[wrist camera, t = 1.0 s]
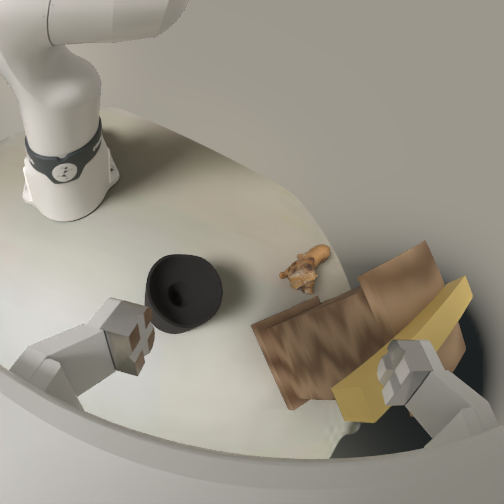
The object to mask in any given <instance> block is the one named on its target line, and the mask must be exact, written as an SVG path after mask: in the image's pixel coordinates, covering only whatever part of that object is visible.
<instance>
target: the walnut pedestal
mask: <svg viewBox="0 0 504 504" xmlns="http://www.w3.org/2000/svg"><path fill="white" fill-rule="evenodd" d="M357 278H358V280H359V282H360V284H361V286H360V287H358V288H355V289H353V290H351V291H348V292H346V293H344V294H342V295H339V296H337V297H335V298H333V299H330V300H328V301H326V302H323V303H320V301H319V298H318V296H316V297H314V298H312V299H310V300H307V301H305V302H303V303H301V304H299V305H296V306H294V307H292V308H290V309H288V310H285V311H283V312H281V313H279V314H276V315H274V316H272V317H269V318H267V319H265V320H262V321H260V322H258V323H255V324H253V325H251V326H252V329H253V331H254V333H255V336H256V338H257V340H258V343H259V345H260V347H261V349H262V352H263V354H264V356H265V358H266V361H267V363H268V365H269V367H270V370H271V372H272V374H273V376H274V379H275V381H276V383H277V385H278V387H279V390H280V392H281V394H282V396H283V398H284V401H285V403H286V405H287V407H288V409H289V410H295V409H296V408H298V407H300V406H301V405H303V404H304V403H306V402H307V401H309V400H310V399H317V400H336V399H335V397H334V394H333V392H332V390H331V388H332V387H333V386H335V385H336V384H338V383H339V382H340V381H342V380H343V379H344V378H346V377H347V376H348V375H350V374H351V373H352V372H353V371H355V370H356V369H357V368H358V367H360V366H361V365H362V364H363V363H365V362H366V361H367V360H368V359H370V358H371V357H372V356H373V355H374V354H376V353H377V352H378V351H379V350H380V349H381V348H383V347H384V346H385V345H386V344H387V343H388V342H389V341H390V340H392V339H393V338H394V337H395V336H396V335H397V334H398V333H399V332H400V331H401V330H403V329H404V328H405V327H406V326H407V325H408V324H409V323H410V322H411V321H412V320H413V319H414V318H415V317H416V316H417V315H418V314H419V313H420V312H421V311H422V310H423V309H424V308H425V307H426V306H427V305H428V304H429V303H430V302H431V301H432V300H433V299H434V298H435V297H436V295H437V294H438V293H439V292H440V291H441V290H442V289H443V288H444V287H445V285H444V282H443V280H442V277H441V275H440V272H439V270H438V268H437V265H436V263H435V261H434V258H433V256H432V254H431V252H430V249H429V247H428V245H427V243H426V241H423V242H422V243H420V244H418V245H416V246H415V247H413V248H411V249H409V250H407V251H406V252H404V253H402V254H400V255H398V256H397V257H395V258H393V259H391V260H389V261H387V262H385V263H383V264H382V265H380V266H378V267H376V268H374V269H372V270H370V271H368V272H366V273H365V274H362V275H360V276H358V277H357ZM465 350H466V347H465V343H464V340H463V336H462V333H461V330H460V327H459V324H458V322H457V323H456V325H455V327H454V328H453V330H452V331H451V332H450V334H449V335H448V337H447V338H446V340H445V341H444V343H443V344H442V345H441V347H440V348H439V349H438V351H437V352H436V353H437V355H438V357H439V359H440V361H441V363H442V365H443V367H444V369H445V370H448V371H450V372H451V373H452V372H453V371H454V369H455V368H456V366H457V364H458V362H459V361H460V359H461V357H462V355H463V354H464V352H465ZM409 413H410V416H413V415H412V413H411V412H410V411H409Z"/></svg>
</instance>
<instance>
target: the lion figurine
mask: <svg viewBox="0 0 504 504" xmlns="http://www.w3.org/2000/svg"><path fill="white" fill-rule="evenodd" d="M330 254H331V252H330V247H328V246H326V245H323V244H322V245H317V246H315V247H313V248H312V249H310V250H309V251H308V252H306V253H304V254H299V255H297V258H298V259H299V260H298V261H295V262H294V263H293V264H292V265H291V266H290V267H288V268H287V269H286V271H285V272H281V273H280V274H279V276H280V278H281V279H284V278H286V277H287V276H288V279H289V280H290V285H291V287H293V288H294V289H299V288H301V289H302V291H303V293H306V294H313V285H314V283H315V282H314V280H315V279H316V278H317V277H318V275H317V274H316V273H315V268H316V267H317V266H318V264H319V263H321V262H324V261H325V260H326V259H327V258H328V257H329V256H330Z"/></svg>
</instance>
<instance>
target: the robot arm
mask: <svg viewBox="0 0 504 504" xmlns="http://www.w3.org/2000/svg"><path fill="white" fill-rule="evenodd" d="M188 1H189V0H0V75H1V76H2V77H3V78H4V80H5V81H6V82H7V84H8V85H9V86H10V88H11V90H12V91H13V93H14V95H15V97H16V99H17V102H18V105H19V108H20V112H21V116H22V120H23V124H24V129H25V133H26V136H25V146H26V147H25V148H26V154H27V157H26V158H25V160H24V163H25V166H24V168H23V171H24V176H25V180H26V182H25V186H24V191H23V199H24V201H25V202H26V203H28V204H31V205H34V206H35V207H37V208H38V210H39V211H40V212H41V213H42V214H43V215H45V216H46V217H48V218H50V219H52V220H56V221H73V220H77V219H79V218H82V217H84V216H86V215H88V214H89V213H91V212H92V211H93V210H94V209H96V208H97V207H98V205H99V204H100V203H101V202H102V200H103V199H104V197H105V195H106V193H107V191H108V189H109V188H110V187H112V186H113V185H114V184H115V183H116V182H117V181H118V180H119V171H118V169H117V167H116V165H115V163H114V161H113V158H112V156H111V154H110V149H109V148H108V147H107V145H106V143H105V140H104V138H103V136H102V123H101V118H100V116H99V110H100V96H101V79H100V76H99V74H98V72H97V70H96V69H95V67H94V66H93V65H92V64H91V63H90V62H88V61H87V60H85V59H83V58H81V57H79V56H77V55H75V54H73V53H72V52H70V51H69V50H68V49H67V48H66V46H65V44H81V43H116V42H122V41H131V40H139V39H146V38H155V37H157V36H159V35H160V34H162V33H163V32H165V31H166V30H167V29H168V28H170V27H171V26H172V25H173V24H174V23H175V22H176V21H177V20H178V18H179V17H180V16H181V14H182V13H183V11H184V10H185V8H186V6H187V4H188ZM110 171H112V172H110ZM152 318H153V315H152V309H151V308H150V307H147V306H143V305H139V304H135V303H131V302H128V301H123V300H119V299H115V298H109V299H107V301H106V302H105V303H104V304H103V305H102V307H101V308H100V309H99V310H98V312H97V313H96V314H95V315H94V316H93V318H92V319H91V320H90V321H89V323H88V324H87V325H85V324H82V325H79V326H77V327H75V328H72V329H70V330H67V331H65V332H62V333H60V334H58V335H55V336H53V337H50V338H48V339H45V340H43V341H40V342H38V343H36V344H33V345H31V346H28V348H27V349H26V350H25V351H24V352H23V354H22V355H21V356H20V357H19V358H18V360H17V361H16V362H15V363H14V365H13V366H12V367H11V369H10V370H8V369H6V368H5V367H3V366H2V365H0V504H504V425H502V426H499V425H498V422H497V420H496V418H495V416H494V414H493V412H492V409H491V407H490V405H489V403H488V401H486V400H485V399H484V398H483V397H481V396H480V395H479V394H478V393H476V392H475V391H474V390H472V389H471V388H470V387H469V386H467V385H466V384H465V383H463V382H462V381H461V380H460V379H459V378H457V377H456V376H455V375H454V374H452V373H451V372H450V371H448V370H445V369H444V367H443V365H442V363H441V361H440V359H439V357H438V355H437V353H436V351H435V350H434V348H433V346H432V344H431V342H430V341H429V340H399V339H393V340H392V341H391V342H390V343H389V345H388V347H387V350H388V353H386V354H385V355H384V356H382V358H381V360H380V362H379V364H378V369H377V376H378V380H379V382H380V383H381V384H382V385H383V386H384V387H383V389H382V394H383V398H384V402H385V405H386V406H390V405H405V406H406V407H407V409H408V410H409V411H410V412H411V413H412V415H413V416H414V417H415V418H416V419H417V420H418V421H419V423H420V424H421V425H422V426H423V427H424V429H425V430H426V431H427V432H428V433H429V435H430V436H431V437H432V438H433V439H432V440H431V441H430V442H429V443H428V444H427V445H425V447H424V448H423V449H418V450H413V451H408V452H402V453H396V454H388V455H380V456H370V457H359V458H343V459H289V458H273V457H261V456H251V455H243V454H235V453H229V452H222V451H216V450H211V449H205V448H200V447H195V446H191V445H186V444H182V443H178V442H174V441H170V440H166V439H162V438H159V437H155V436H152V435H148V434H145V433H142V432H139V431H136V430H133V429H130V428H127V427H124V426H121V425H118V424H115V423H113V422H110V421H107V420H105V419H102V418H100V417H97V416H95V415H92V414H90V413H88V412H85V411H84V409H83V406H82V405H81V403H80V401H79V400H78V398H77V397H78V396H79V395H81V394H82V393H84V392H85V391H87V390H88V389H90V388H91V387H93V386H94V385H96V384H97V383H99V382H100V381H102V380H103V379H105V378H106V377H108V376H109V375H111V374H112V373H114V372H115V370H117V371H120V372H124V373H128V374H131V375H135V376H138V375H139V373H140V371H141V369H142V367H143V365H144V363H145V360H144V356H145V355H147V354H149V353H150V351H151V349H152V347H153V342H154V335H155V332H154V327H153V325H152V324H151V323H150V321H151V319H152Z"/></svg>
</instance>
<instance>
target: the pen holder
mask: <svg viewBox="0 0 504 504" xmlns="http://www.w3.org/2000/svg"><path fill="white" fill-rule="evenodd" d="M222 294H223V291H222V283H221V280H220V277H219V275H218V273H217V271H216V270H215V269H214V267H213V266H212V265H211V264H210V263H209V262H208V261H206V260H205V259H203V258H201V257H198V256H193V255H183V254H173V255H167V256H164V257H162V258H161V259H159V260H158V261H157V262H156V263H155V264H154V265H153V267H152V268H151V270H150V272H149V274H148V278H147V283H146V292H145V306H147V307H150V308H151V309H152V315H153V318H152V319H151V323H152V324H153V325H154V326H155V327H156V328H158V329H159V330H161V331H163V332H166V333H170V334H179V333H183V332H186V331H189V330H191V329H193V328H195V327H197V326H199V325H202V324H203V323H205V322H207V321H208V320H209V319H211V318H212V317H213V316H214V315H215V313H216V312H217V311H218V309H219V307H220V304H221V301H222Z"/></svg>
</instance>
